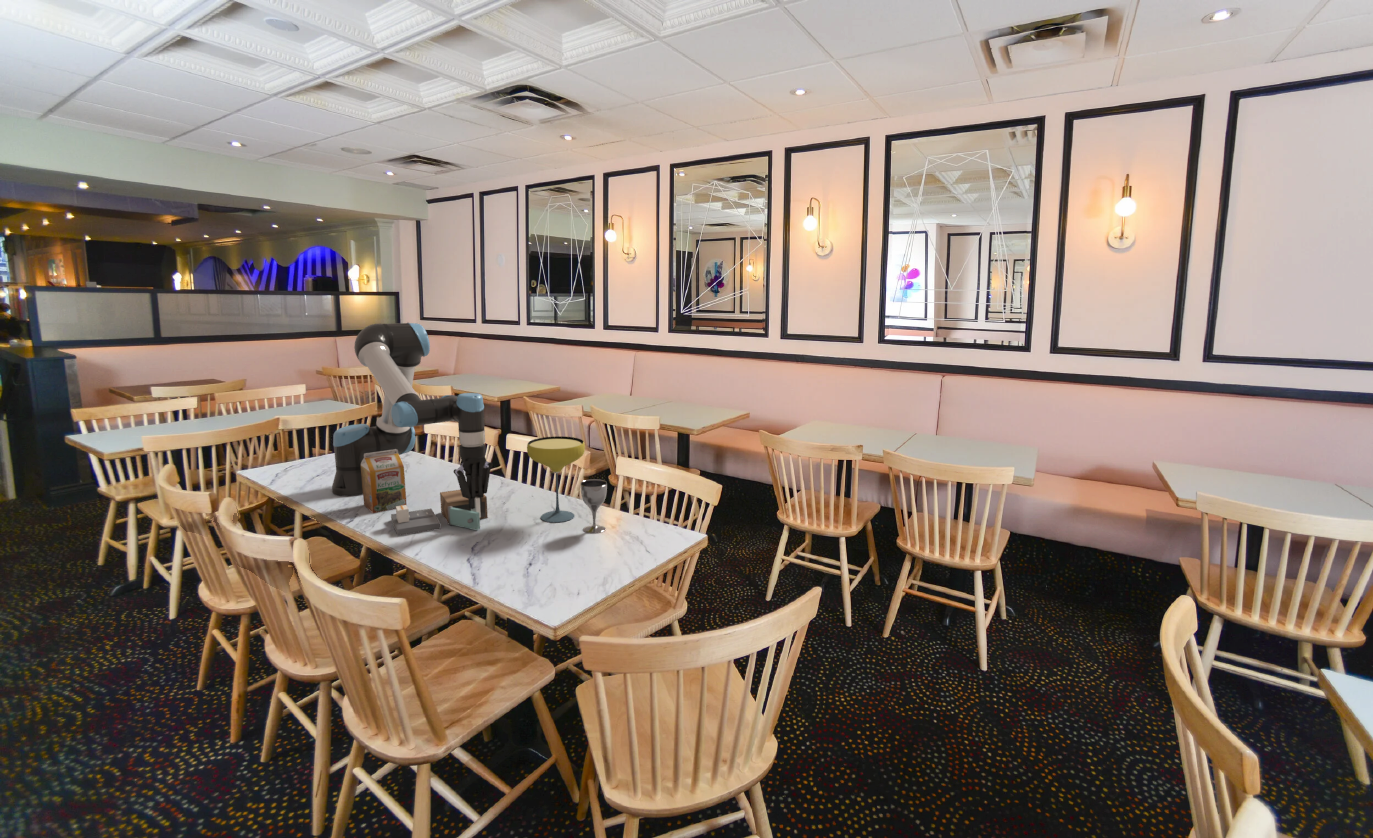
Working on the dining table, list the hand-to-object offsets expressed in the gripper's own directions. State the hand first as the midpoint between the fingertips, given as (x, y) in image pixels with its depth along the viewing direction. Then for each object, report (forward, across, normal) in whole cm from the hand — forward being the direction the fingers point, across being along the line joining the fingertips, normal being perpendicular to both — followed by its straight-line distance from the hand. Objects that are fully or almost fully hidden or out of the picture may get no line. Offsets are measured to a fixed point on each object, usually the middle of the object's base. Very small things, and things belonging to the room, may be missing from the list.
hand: (476, 517), depth 196 cm
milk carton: (+3, +7, -39) cm, 40 cm away
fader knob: (0, +14, -16) cm, 22 cm away
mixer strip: (+2, +11, -15) cm, 19 cm away
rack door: (+2, +4, -1) cm, 5 cm away
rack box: (+2, -3, -10) cm, 11 cm away
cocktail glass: (+3, -20, +15) cm, 25 cm away
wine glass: (+3, -19, +32) cm, 37 cm away
